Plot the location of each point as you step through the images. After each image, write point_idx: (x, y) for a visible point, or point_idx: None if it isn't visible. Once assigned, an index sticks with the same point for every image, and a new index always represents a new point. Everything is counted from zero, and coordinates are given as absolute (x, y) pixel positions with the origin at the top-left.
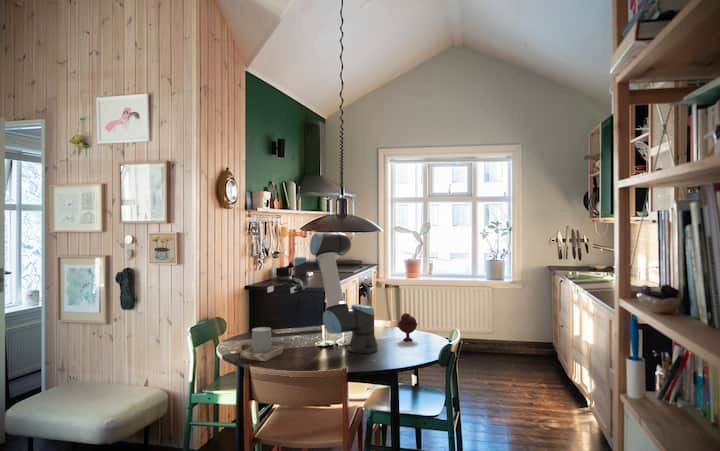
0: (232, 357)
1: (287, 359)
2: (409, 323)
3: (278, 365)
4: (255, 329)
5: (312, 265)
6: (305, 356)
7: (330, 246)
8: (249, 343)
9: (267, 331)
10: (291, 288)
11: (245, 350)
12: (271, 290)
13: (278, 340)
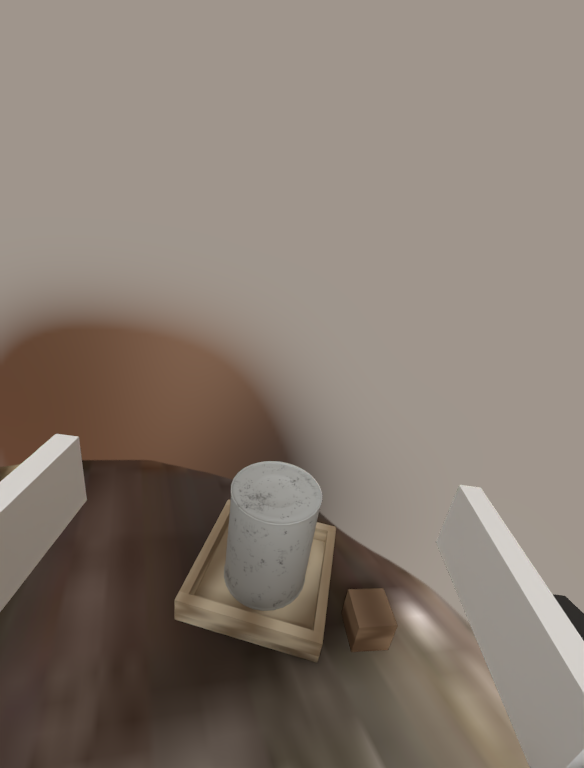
0: (363, 547)
1: (146, 537)
2: None
3: (173, 485)
4: (306, 489)
5: None
6: (59, 579)
7: None
8: (365, 622)
9: (239, 475)
10: (60, 438)
11: (327, 543)
12: (488, 635)
13: None
